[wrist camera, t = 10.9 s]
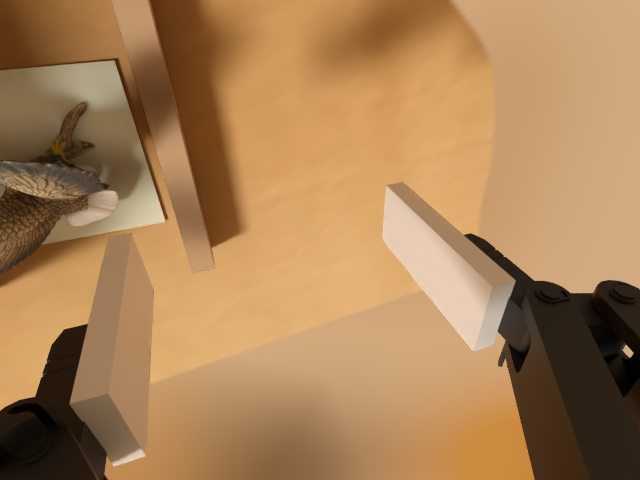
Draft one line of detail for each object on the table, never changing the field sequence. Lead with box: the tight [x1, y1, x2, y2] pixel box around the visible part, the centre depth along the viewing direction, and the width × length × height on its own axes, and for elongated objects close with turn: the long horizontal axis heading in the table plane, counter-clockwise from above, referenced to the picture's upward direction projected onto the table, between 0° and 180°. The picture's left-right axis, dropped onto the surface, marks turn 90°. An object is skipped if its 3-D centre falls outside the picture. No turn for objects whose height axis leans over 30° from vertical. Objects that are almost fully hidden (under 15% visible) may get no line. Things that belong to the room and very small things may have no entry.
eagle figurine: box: [0, 102, 118, 275], centre depth 18 cm, size 8×7×9 cm
